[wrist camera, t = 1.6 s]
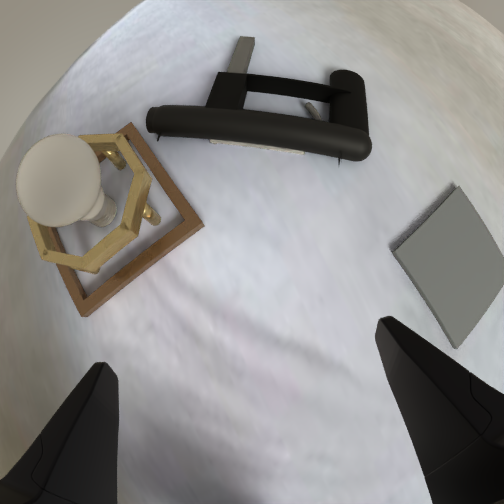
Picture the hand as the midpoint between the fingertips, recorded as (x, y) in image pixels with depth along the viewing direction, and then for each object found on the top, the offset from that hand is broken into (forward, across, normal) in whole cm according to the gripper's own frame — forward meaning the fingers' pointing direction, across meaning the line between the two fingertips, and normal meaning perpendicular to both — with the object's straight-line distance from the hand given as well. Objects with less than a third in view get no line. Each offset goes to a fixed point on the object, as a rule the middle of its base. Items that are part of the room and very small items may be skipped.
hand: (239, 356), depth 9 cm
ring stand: (+18, +11, +1) cm, 21 cm away
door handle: (+25, -5, -5) cm, 26 cm away
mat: (+10, -20, +8) cm, 24 cm away
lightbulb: (+18, +11, +1) cm, 21 cm away
